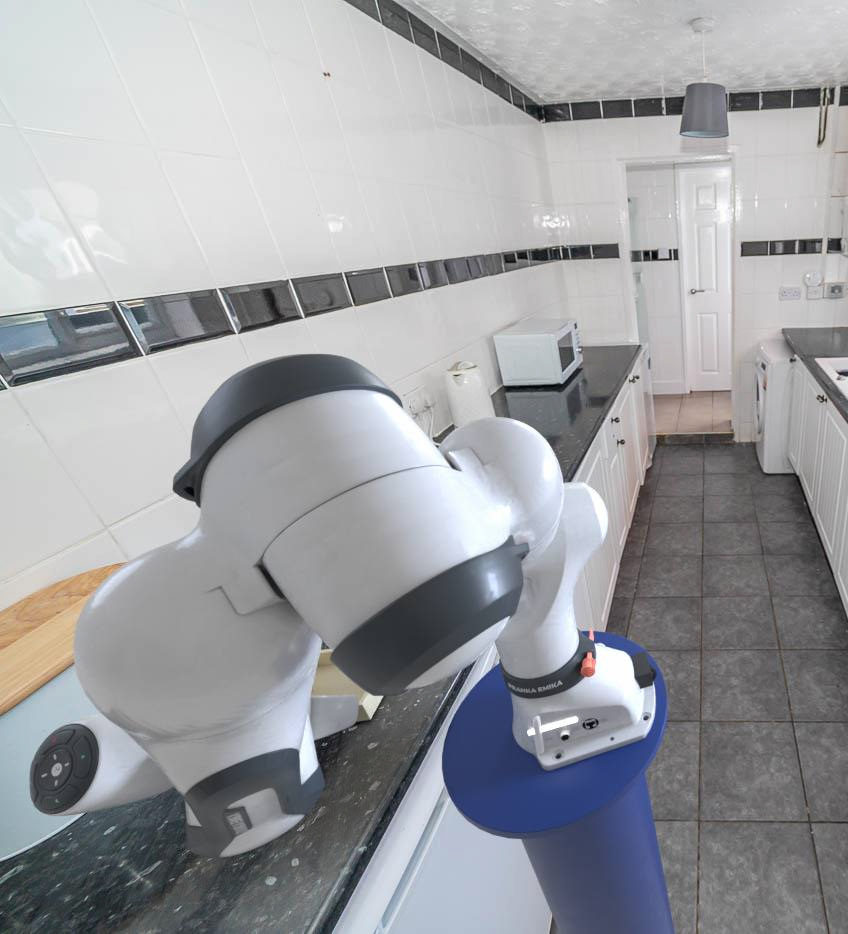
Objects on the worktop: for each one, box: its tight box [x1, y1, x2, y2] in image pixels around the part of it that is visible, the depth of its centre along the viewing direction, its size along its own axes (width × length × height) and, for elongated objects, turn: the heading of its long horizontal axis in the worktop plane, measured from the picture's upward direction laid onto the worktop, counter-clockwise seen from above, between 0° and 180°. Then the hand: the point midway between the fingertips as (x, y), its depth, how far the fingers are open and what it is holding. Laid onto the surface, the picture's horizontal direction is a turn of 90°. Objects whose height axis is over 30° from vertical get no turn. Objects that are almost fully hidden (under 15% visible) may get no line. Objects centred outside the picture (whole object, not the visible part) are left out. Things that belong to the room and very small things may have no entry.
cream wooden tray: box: [311, 648, 384, 723], centre depth 82 cm, size 16×14×4 cm
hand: (308, 714), depth 69 cm, fingers closed, pressing on tap lever
